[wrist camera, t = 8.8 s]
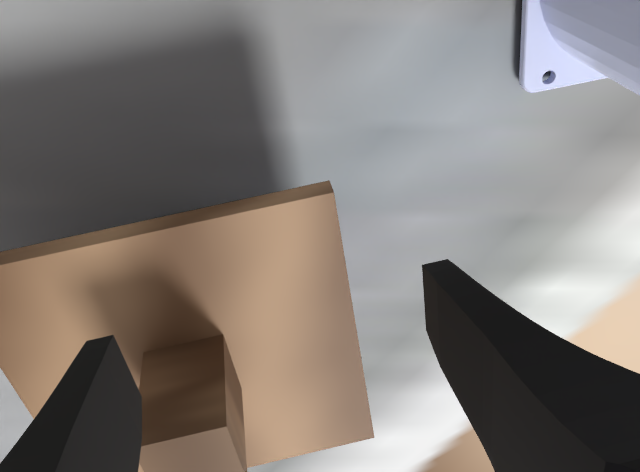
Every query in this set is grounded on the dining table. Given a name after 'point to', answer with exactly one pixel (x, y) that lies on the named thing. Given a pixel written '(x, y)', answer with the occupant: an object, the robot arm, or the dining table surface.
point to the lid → (202, 328)
